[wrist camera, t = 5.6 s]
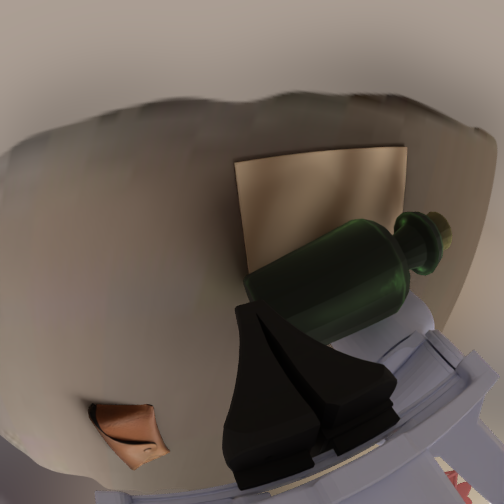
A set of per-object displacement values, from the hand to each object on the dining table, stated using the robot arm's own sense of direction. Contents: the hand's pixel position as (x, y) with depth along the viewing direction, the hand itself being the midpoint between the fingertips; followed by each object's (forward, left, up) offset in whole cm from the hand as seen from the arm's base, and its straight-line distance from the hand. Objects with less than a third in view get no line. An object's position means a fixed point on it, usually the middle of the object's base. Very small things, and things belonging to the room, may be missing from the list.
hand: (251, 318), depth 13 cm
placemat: (-10, 0, -8) cm, 13 cm away
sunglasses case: (+17, +26, -9) cm, 32 cm away
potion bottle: (-1, +4, -4) cm, 6 cm away
